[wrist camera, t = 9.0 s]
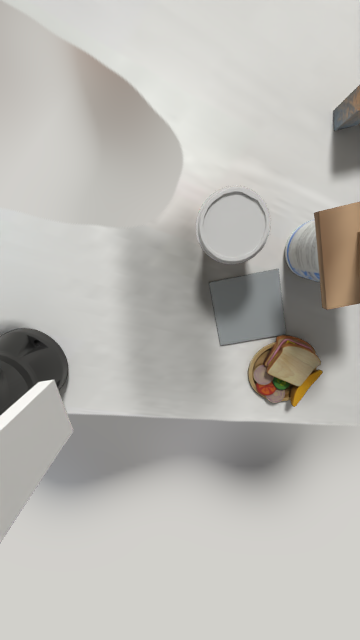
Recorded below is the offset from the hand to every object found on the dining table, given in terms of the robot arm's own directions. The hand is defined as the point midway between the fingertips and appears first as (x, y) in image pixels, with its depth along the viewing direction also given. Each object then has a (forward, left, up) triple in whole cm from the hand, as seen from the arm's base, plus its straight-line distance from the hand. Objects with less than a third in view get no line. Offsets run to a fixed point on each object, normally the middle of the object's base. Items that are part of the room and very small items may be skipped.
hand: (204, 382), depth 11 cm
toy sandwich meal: (+12, -20, -37) cm, 44 cm away
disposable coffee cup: (+6, +7, -37) cm, 38 cm away
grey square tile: (+8, -7, -37) cm, 38 cm away
